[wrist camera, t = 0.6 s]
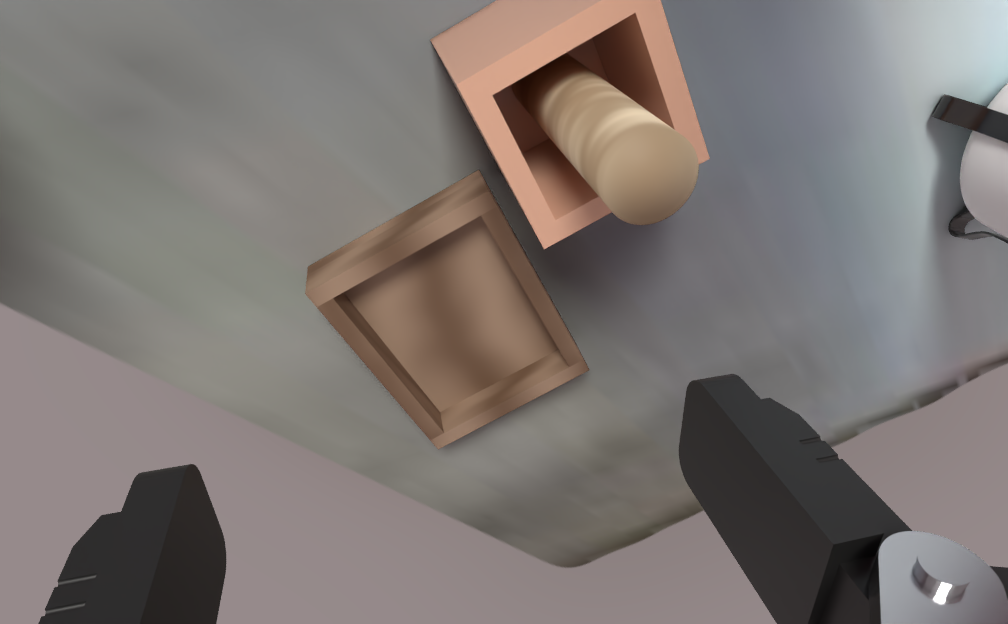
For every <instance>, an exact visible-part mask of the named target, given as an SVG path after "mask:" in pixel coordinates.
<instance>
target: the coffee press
mask: <svg viewBox="0 0 1008 624" xmlns="http://www.w3.org/2000/svg"><path fill="white" fill-rule="evenodd" d="M932 117H935V118H937V119H940V120H943V121H946V122H949V123H952V124H955V125H958V126H961V127H964V128H967V129H970V130H973V131H972V133H971V135H970V138H969V140H968V142H967V145H966V148H965V151H964V154H963V158H962V163H961V169H960V187H961V193H962V197H963V200H964V202H965V205H966V207H967V208H968V210H969V211H966V212H964V213H961V214H959V215H957V216H955V217H954V218H953V219H952V220H951V221H950V223H949V232H950V234H951V235H952V236H954V237H959V238H964V239H969V240H975V239H980V238H985V237H992V236H994V237H996V238H998V239H1000V240H1002V241H1004V242H1006V243H1008V83H1007V84H1006V85H1005V86H1004V87H1003V88H1002V89H1001V91H1000V92H999V93H998V94H997V95H996V96H995V97H994V99H993V100H992V101H991V102H990V104H989V105H988V106H987V107H985V106H982V105H978V104H975V103H972V102H969V101H965V100H962V99H959V98H955V97H952V96H949V95H945V94H944V96H943V97H942V99H941V101H940V103H939V104H938V106H937V108H936V110H935V111H934V113H933V115H932ZM975 218H976V219H977V220H978V221H979V222H980V223H982V224H983V225H985V226H987V227H989V228H990V229H992V230H994V231H996V232H998V233H999V234H995V233H990V232H984V231H981V232H972V233H967V234H965V231H964V229H965V226H966V224H967V223H968V222H969V221H971V220H972V219H975ZM1000 234H1001V235H1000Z"/></svg>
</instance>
